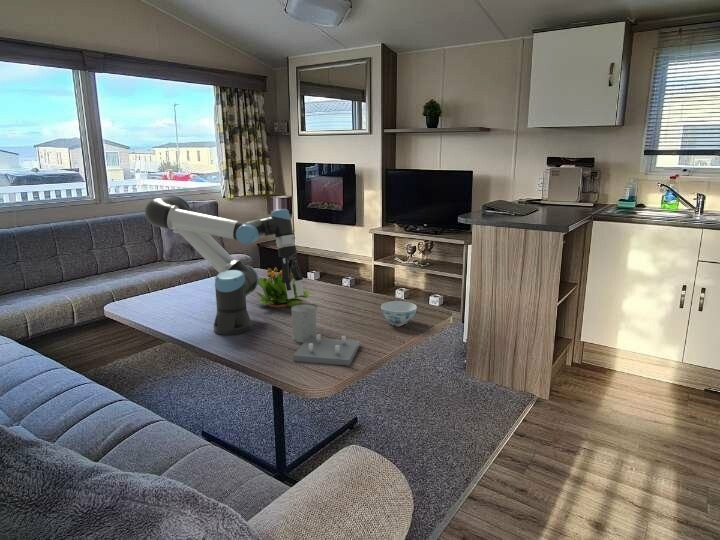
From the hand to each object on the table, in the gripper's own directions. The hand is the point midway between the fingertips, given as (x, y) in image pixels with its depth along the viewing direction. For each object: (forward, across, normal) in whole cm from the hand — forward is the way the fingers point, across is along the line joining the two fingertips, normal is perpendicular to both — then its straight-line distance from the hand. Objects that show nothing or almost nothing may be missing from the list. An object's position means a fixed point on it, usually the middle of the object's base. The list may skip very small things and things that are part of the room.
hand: (296, 297), depth 205 cm
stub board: (+21, -24, -15) cm, 36 cm away
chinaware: (+20, +11, -39) cm, 45 cm away
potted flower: (+3, +28, +18) cm, 34 cm away
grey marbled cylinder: (+16, -11, -4) cm, 20 cm away
